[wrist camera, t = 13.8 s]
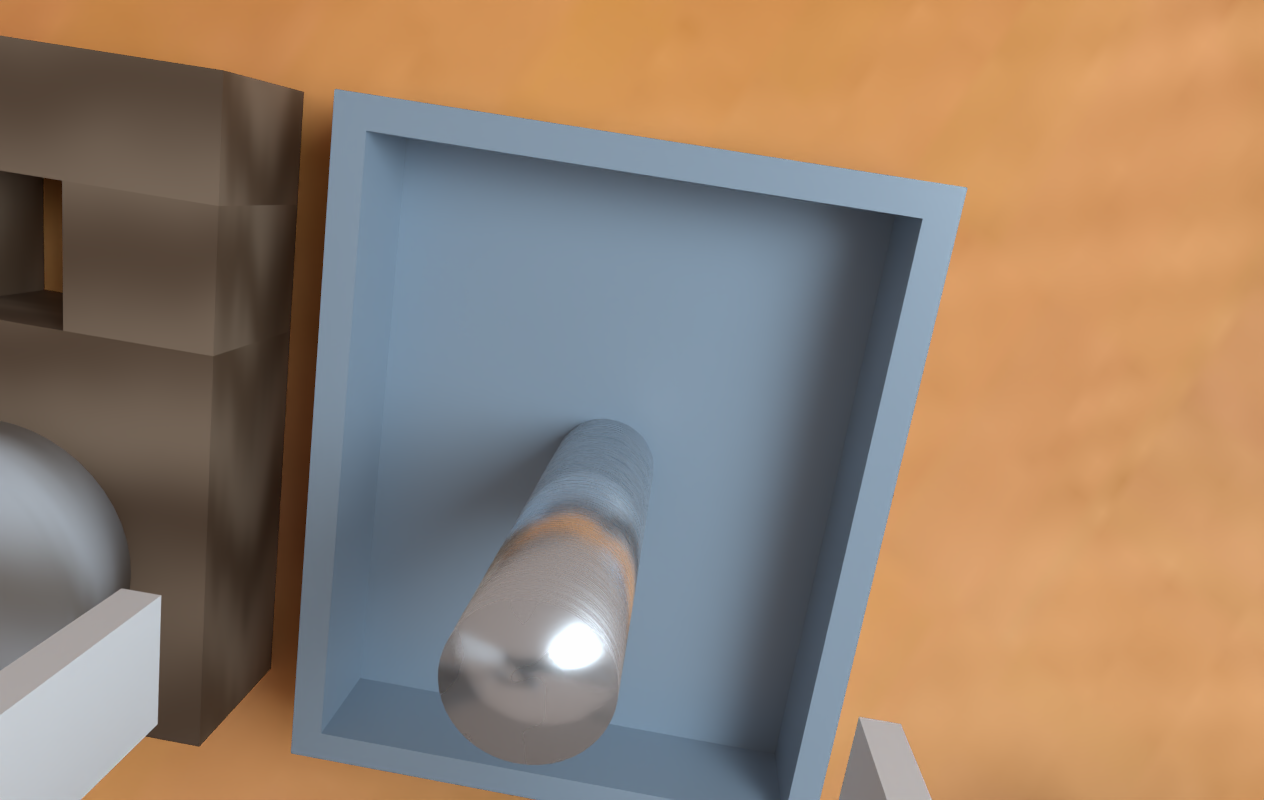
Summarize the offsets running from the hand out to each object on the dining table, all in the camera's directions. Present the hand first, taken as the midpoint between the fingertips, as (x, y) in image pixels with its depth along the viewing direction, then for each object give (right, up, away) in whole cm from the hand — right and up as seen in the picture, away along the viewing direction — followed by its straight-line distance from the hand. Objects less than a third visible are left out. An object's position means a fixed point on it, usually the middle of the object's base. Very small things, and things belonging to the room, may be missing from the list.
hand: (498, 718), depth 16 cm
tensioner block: (-17, +7, +16) cm, 24 cm away
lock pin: (+1, +4, +14) cm, 15 cm away
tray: (+2, +4, +15) cm, 16 cm away
